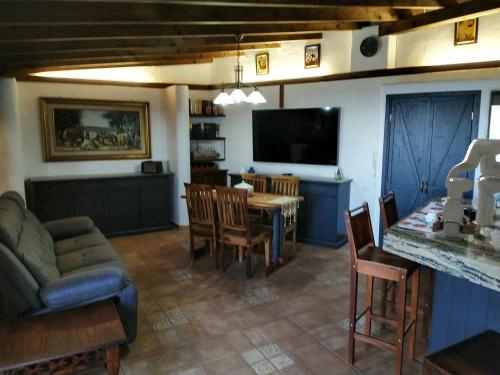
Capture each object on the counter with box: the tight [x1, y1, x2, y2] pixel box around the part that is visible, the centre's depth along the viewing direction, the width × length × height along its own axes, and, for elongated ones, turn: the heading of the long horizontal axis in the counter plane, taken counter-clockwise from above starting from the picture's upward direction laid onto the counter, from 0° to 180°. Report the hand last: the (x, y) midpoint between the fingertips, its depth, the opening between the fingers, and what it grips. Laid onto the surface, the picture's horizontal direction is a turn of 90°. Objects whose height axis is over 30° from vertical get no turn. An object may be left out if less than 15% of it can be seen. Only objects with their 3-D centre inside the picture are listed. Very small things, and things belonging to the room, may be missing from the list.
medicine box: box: [442, 220, 461, 237], centre depth 218 cm, size 8×4×9 cm, turn 85°
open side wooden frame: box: [431, 219, 480, 239], centre depth 229 cm, size 12×23×5 cm, turn 51°
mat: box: [436, 231, 465, 242], centre depth 219 cm, size 12×12×1 cm
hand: (451, 230), depth 218 cm, fingers open, 9 cm apart
